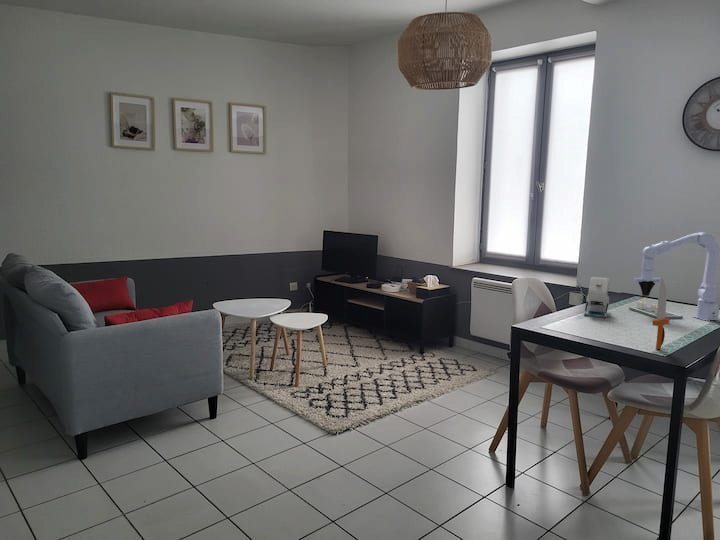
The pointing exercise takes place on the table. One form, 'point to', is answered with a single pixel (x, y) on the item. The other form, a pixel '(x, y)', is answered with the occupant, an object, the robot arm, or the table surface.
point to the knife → (661, 315)
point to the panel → (652, 313)
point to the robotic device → (598, 297)
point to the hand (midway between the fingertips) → (645, 295)
